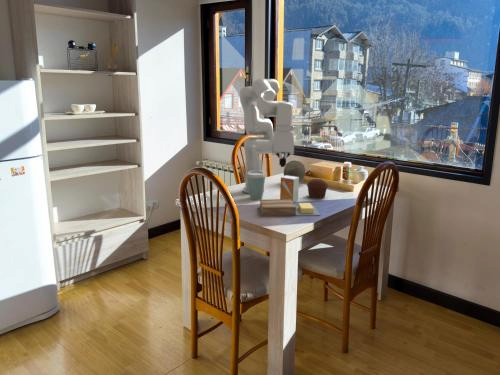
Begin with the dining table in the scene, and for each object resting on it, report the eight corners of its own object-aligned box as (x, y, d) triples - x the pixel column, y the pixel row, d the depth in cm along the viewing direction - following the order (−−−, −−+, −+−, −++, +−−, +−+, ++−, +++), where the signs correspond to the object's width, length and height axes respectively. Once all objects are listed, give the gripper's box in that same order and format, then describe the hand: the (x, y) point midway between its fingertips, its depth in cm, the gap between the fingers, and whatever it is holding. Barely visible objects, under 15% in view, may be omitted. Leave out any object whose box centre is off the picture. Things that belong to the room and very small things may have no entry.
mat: (290, 206, 216) (290, 205, 215) (313, 205, 216) (313, 205, 216) (296, 215, 200) (296, 215, 200) (320, 215, 201) (320, 214, 201)
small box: (279, 200, 226) (280, 177, 223) (285, 197, 231) (286, 175, 228) (292, 202, 222) (293, 179, 218) (298, 200, 227) (299, 177, 223)
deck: (260, 207, 213) (260, 199, 213) (290, 206, 215) (291, 199, 214) (262, 215, 200) (262, 207, 199) (295, 215, 201) (295, 207, 200)
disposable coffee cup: (263, 201, 223) (264, 174, 219) (244, 200, 225) (244, 173, 221) (266, 196, 233) (267, 170, 229) (248, 195, 235) (248, 169, 231)
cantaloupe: (278, 183, 264) (279, 159, 261) (296, 180, 271) (297, 158, 267) (290, 188, 252) (291, 163, 249) (309, 185, 259) (310, 161, 255)
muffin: (303, 197, 232) (304, 180, 230) (310, 193, 242) (311, 176, 239) (323, 200, 227) (324, 182, 224) (330, 195, 236) (331, 178, 234)
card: (310, 203, 211) (310, 207, 212) (298, 203, 211) (298, 207, 212) (313, 208, 203) (313, 213, 203) (301, 208, 202) (301, 213, 203)
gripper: (297, 127, 201) (296, 164, 206) (267, 127, 200) (266, 164, 205) (300, 129, 194) (299, 168, 199) (269, 129, 193) (268, 168, 198)
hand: (282, 166), depth 202 cm, fingers closed
